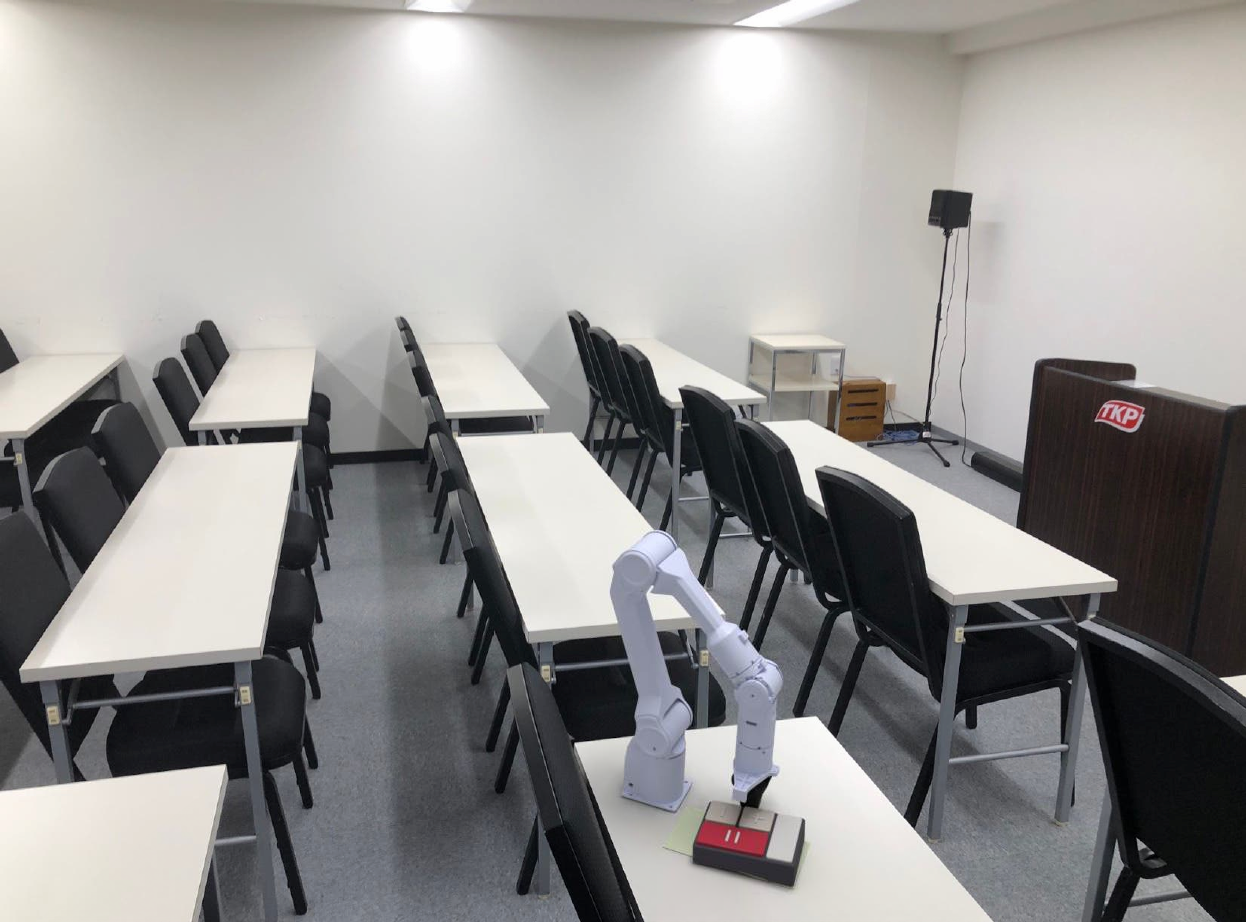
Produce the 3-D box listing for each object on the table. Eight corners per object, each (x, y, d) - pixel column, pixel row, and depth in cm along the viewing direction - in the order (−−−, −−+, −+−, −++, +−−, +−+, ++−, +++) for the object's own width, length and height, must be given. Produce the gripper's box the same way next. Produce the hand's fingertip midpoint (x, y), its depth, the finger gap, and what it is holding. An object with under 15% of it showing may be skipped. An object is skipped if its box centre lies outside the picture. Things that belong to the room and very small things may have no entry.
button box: (709, 796, 148) (806, 814, 143) (709, 819, 149) (805, 837, 145) (691, 841, 138) (794, 862, 133) (691, 865, 139) (793, 887, 135)
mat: (662, 847, 142) (662, 846, 142) (686, 806, 151) (686, 805, 151) (793, 889, 135) (793, 888, 135) (810, 843, 144) (810, 842, 144)
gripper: (767, 772, 136) (761, 849, 140) (792, 720, 149) (786, 793, 153) (721, 759, 139) (716, 835, 143) (749, 709, 151) (744, 781, 156)
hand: (749, 813), depth 148 cm, fingers closed
